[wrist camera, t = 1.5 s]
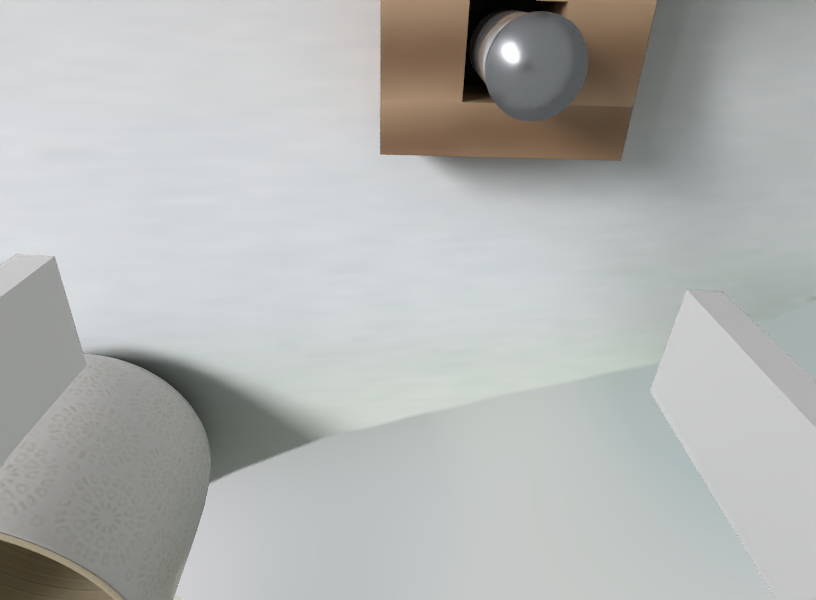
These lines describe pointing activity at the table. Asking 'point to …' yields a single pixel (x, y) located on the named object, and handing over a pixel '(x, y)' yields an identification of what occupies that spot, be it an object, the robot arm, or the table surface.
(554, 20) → the plug grey
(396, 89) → the socket block
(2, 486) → the planter
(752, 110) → the table surface
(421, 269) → the table surface
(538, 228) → the table surface
